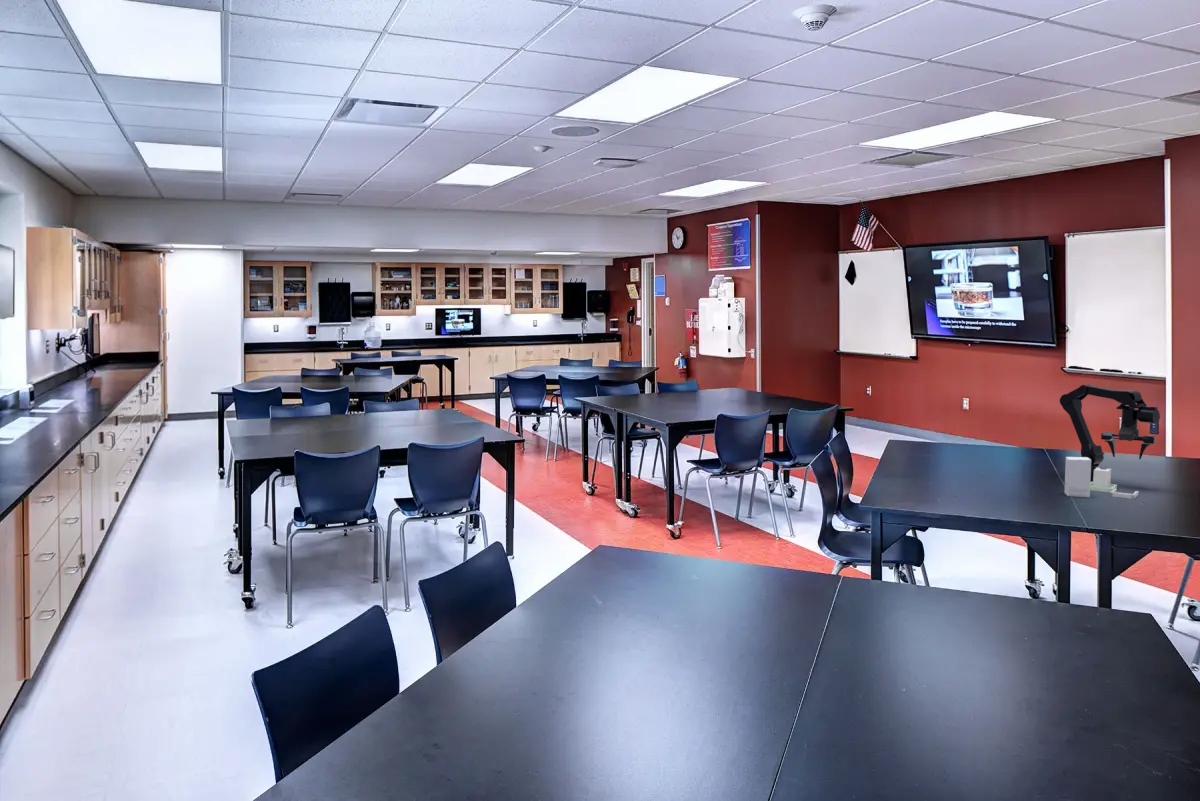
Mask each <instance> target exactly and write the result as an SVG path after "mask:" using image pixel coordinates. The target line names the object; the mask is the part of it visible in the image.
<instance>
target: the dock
mask: <svg viewBox="0 0 1200 801" xmlns="http://www.w3.org/2000/svg"><path fill="white" fill-rule="evenodd" d="M1117 490H1118V489H1113V490H1112V491H1110V492H1109V494H1108V496H1109V497H1114V498H1121V499H1122V498H1124V499H1130V500H1135V499H1136V498H1137V497H1138V496H1139V490H1135V491H1134V493H1128V492H1127V493H1125V492H1118V491H1117Z"/></svg>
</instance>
